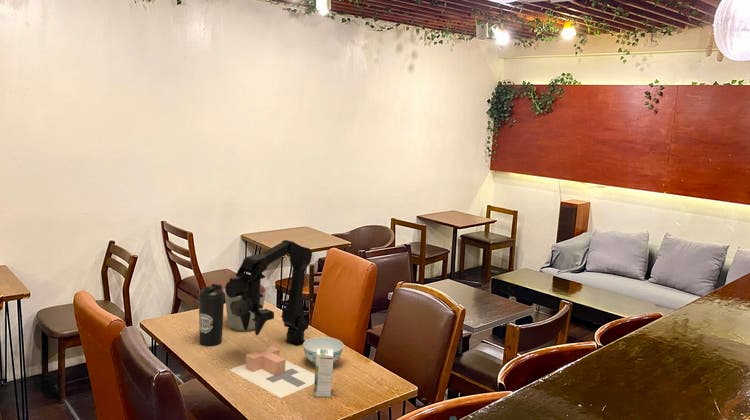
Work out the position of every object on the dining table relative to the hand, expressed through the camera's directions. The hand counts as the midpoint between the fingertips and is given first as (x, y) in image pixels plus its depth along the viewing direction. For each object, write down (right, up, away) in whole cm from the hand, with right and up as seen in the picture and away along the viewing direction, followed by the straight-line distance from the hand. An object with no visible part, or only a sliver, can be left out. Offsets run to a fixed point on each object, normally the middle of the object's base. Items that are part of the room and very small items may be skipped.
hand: (251, 332), depth 208 cm
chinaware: (+26, -13, +2) cm, 29 cm away
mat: (+11, -13, -9) cm, 19 cm away
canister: (-11, -5, +34) cm, 36 cm away
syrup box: (+28, -16, -19) cm, 38 cm away
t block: (+8, -12, -5) cm, 15 cm away
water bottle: (-20, -8, +16) cm, 26 cm away
